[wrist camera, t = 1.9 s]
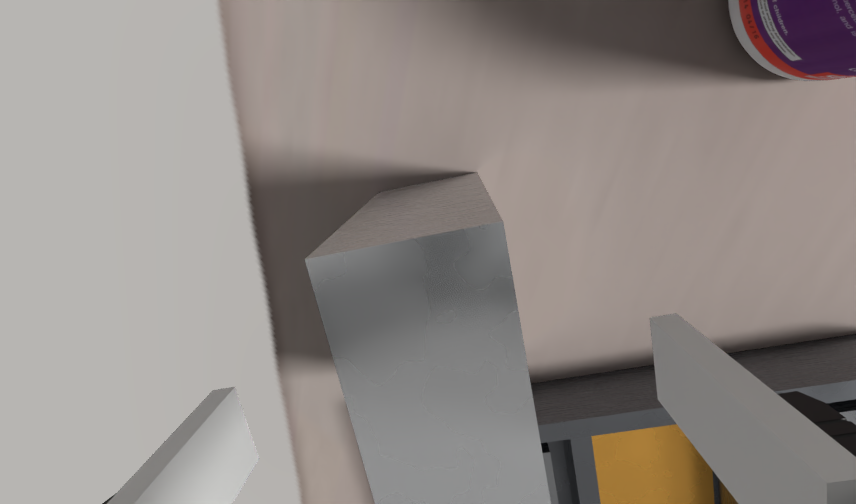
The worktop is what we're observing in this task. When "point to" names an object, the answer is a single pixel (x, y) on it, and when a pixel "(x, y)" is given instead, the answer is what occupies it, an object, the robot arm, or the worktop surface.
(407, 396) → the grey rectangular block
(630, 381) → the rack
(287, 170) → the worktop surface
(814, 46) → the pill bottle
